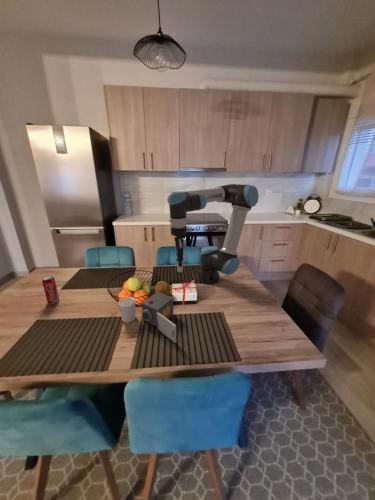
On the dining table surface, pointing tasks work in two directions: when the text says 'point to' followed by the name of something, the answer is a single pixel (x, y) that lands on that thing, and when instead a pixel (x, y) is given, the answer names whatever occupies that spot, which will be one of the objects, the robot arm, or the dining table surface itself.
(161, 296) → the camera body
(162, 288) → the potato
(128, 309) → the white cup
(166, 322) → the side door
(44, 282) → the beverage can
